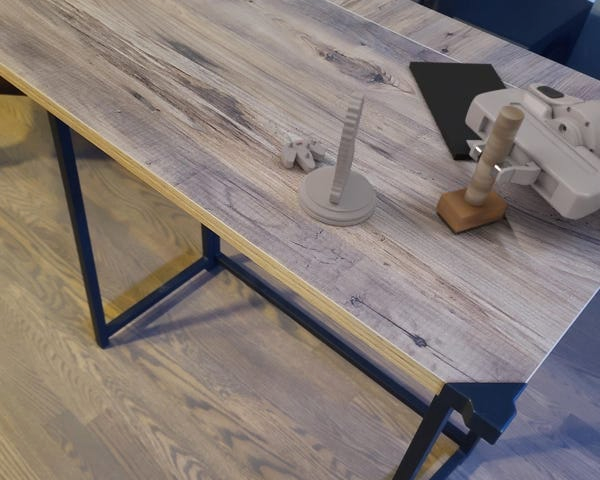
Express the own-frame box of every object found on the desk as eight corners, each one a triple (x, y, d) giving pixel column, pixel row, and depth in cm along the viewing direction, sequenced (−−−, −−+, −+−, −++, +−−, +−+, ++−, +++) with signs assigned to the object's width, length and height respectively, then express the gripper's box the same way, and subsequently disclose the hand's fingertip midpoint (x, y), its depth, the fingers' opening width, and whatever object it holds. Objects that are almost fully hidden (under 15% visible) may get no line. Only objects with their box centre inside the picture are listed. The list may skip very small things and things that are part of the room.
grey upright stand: (382, 185, 77) (412, 77, 65) (367, 235, 70) (397, 126, 59) (308, 165, 77) (325, 56, 66) (287, 213, 71) (302, 101, 60)
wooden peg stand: (478, 200, 77) (524, 96, 65) (499, 222, 74) (551, 118, 63) (433, 212, 74) (474, 106, 63) (454, 236, 72) (500, 130, 60)
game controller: (301, 181, 75) (303, 164, 73) (239, 137, 80) (240, 120, 78) (331, 163, 78) (334, 146, 76) (269, 122, 83) (271, 106, 81)
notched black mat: (488, 69, 99) (491, 63, 98) (546, 159, 84) (549, 154, 83) (408, 67, 97) (410, 61, 96) (453, 159, 82) (455, 153, 81)
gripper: (622, 216, 69) (532, 245, 64) (511, 117, 80) (427, 136, 75) (652, 172, 64) (558, 200, 59) (530, 74, 75) (442, 91, 70)
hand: (484, 163), depth 67 cm, fingers closed on wooden peg stand, 2 cm apart
